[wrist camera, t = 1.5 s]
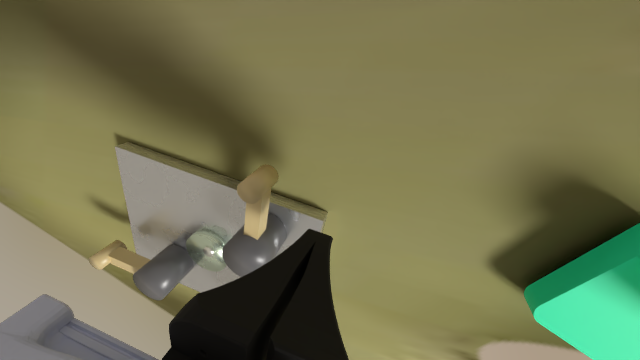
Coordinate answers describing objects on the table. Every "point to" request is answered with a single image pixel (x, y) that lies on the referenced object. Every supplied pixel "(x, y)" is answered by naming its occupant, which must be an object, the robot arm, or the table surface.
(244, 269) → the knob
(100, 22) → the table surface
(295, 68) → the table surface
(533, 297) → the camera mount
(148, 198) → the tribrach plate
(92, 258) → the knob
